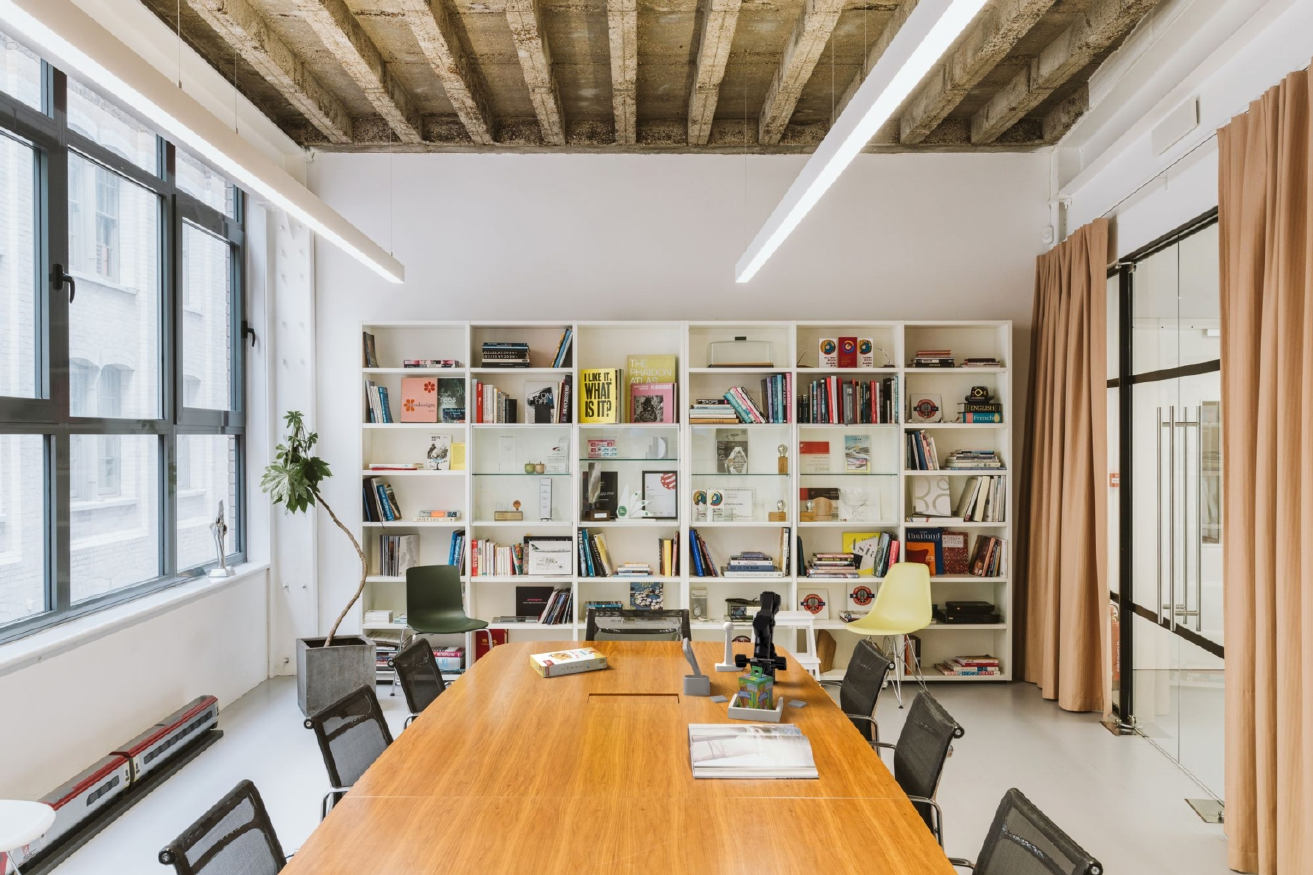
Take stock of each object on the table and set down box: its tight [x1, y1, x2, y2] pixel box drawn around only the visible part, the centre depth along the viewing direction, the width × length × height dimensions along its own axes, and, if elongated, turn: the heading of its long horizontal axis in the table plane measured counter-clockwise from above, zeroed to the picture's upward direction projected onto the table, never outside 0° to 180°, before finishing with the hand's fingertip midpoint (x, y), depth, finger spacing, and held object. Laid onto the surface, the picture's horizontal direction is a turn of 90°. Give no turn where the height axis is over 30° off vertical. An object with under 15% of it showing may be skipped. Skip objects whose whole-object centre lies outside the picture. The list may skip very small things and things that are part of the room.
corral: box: [727, 693, 784, 723], centre depth 269 cm, size 15×17×4 cm
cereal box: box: [529, 646, 608, 678], centre depth 325 cm, size 20×6×28 cm
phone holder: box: [682, 637, 711, 696], centre depth 296 cm, size 17×10×18 cm, turn 176°
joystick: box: [714, 621, 743, 673], centre depth 320 cm, size 11×8×20 cm
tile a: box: [787, 699, 808, 709], centre depth 276 cm, size 5×5×1 cm
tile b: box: [709, 694, 729, 704], centre depth 282 cm, size 5×5×1 cm
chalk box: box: [737, 666, 774, 710], centre depth 272 cm, size 9×9×15 cm
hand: (759, 683), depth 277 cm, fingers closed
